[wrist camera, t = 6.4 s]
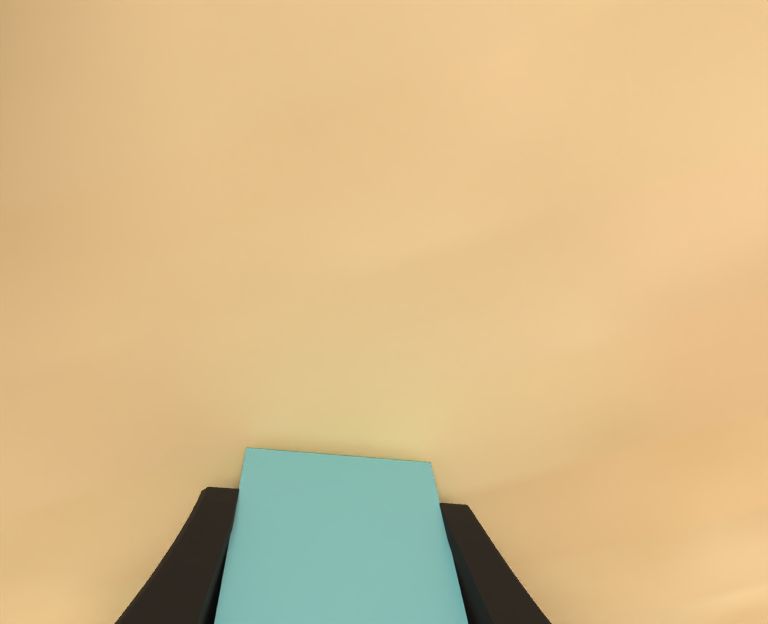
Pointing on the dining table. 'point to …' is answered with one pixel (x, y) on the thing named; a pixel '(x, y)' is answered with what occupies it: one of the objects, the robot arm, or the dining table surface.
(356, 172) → the dining table surface
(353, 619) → the cartridge
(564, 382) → the dining table surface
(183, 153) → the dining table surface
